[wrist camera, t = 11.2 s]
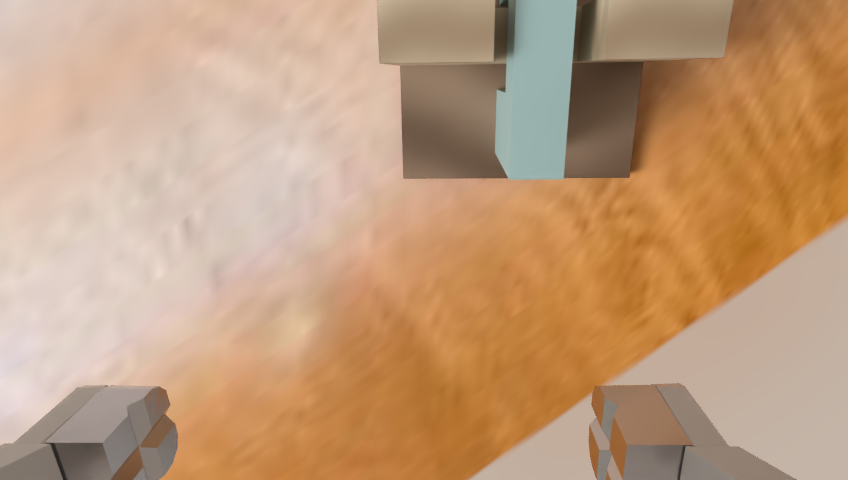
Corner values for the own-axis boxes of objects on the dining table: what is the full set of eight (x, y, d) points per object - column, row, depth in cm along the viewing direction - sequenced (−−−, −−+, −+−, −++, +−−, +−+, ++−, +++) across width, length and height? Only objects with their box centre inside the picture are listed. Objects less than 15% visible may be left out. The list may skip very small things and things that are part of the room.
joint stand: (396, -113, 27) (368, -210, 18) (658, -123, 27) (771, -229, 17) (404, 175, 33) (385, 218, 23) (624, 174, 32) (697, 218, 22)
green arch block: (501, -71, 27) (520, -126, 19) (548, -72, 27) (586, -128, 19) (494, 152, 31) (508, 179, 23) (535, 152, 31) (563, 179, 23)
